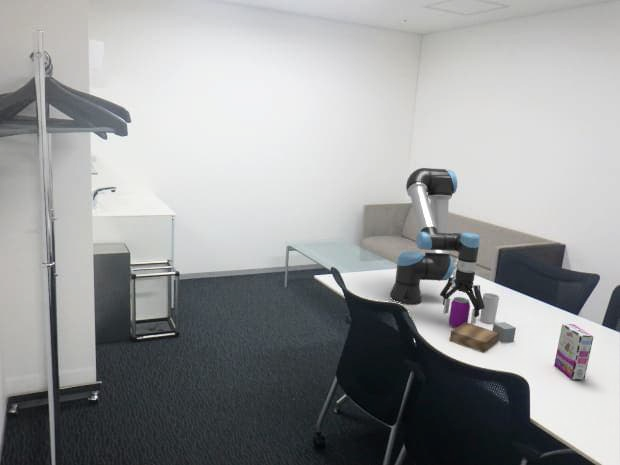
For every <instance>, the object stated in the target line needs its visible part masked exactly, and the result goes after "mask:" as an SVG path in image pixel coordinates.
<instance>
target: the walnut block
mask: <svg viewBox="0 0 620 465" xmlns="http://www.w3.org/2000/svg"><path fill="white" fill-rule="evenodd" d="M498 337H499V333H498V332H495V331H493V329H492V330H491V329H488V328H484V327H482V326H478V325H475V324H471V322H470V323H469V322H468V323H467V322H465V323H464V324H462V325H460V326H458V327H457V328H453V329H452V330H451V331H450V337H449V341H451V342H454V343H457V344H459V345H462V346H465V347H467V348H469V349H470V348H471V349H472V350H473V349H474V350H476V351H479V352H481V353H485V352H488V350H489V349H491V348H492V347H494V346H495V345H496V344H497V343H499V341H498Z"/></svg>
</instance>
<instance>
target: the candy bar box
mask: <svg viewBox="0 0 620 465" xmlns="http://www.w3.org/2000/svg"><path fill="white" fill-rule="evenodd" d="M593 342H594V336H593V335H591V334H590V333H589V332H587V331H586V330H584V329H582V328H580V327H579V326H577V325H576V324H572V323H569V324H568V323H561V328H560V335H559V339H558V343H557V350H556V354H555V359H554V366H555V368H557V369H558V370H559V371H560V372H562V373H563V375H564V376H565V375H566V376H567V377H568V378H569V379H570V380H571V381H585V379H586V374H587V370H588V363H589V359H590V355H591V350H592V345H593Z"/></svg>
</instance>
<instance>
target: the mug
mask: <svg viewBox="0 0 620 465" xmlns="http://www.w3.org/2000/svg"><path fill="white" fill-rule="evenodd" d="M482 300H483V303H484V307H485V308H484V309H481V310H480V314H479V316H480V318H479V320H480V321H481V322H482V323H485V324H494V323H495V321H496V317H497V313H498V307H499V300H500V296H499V295H498V294H496V293H492V292H484V293H483V294H482Z"/></svg>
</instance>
